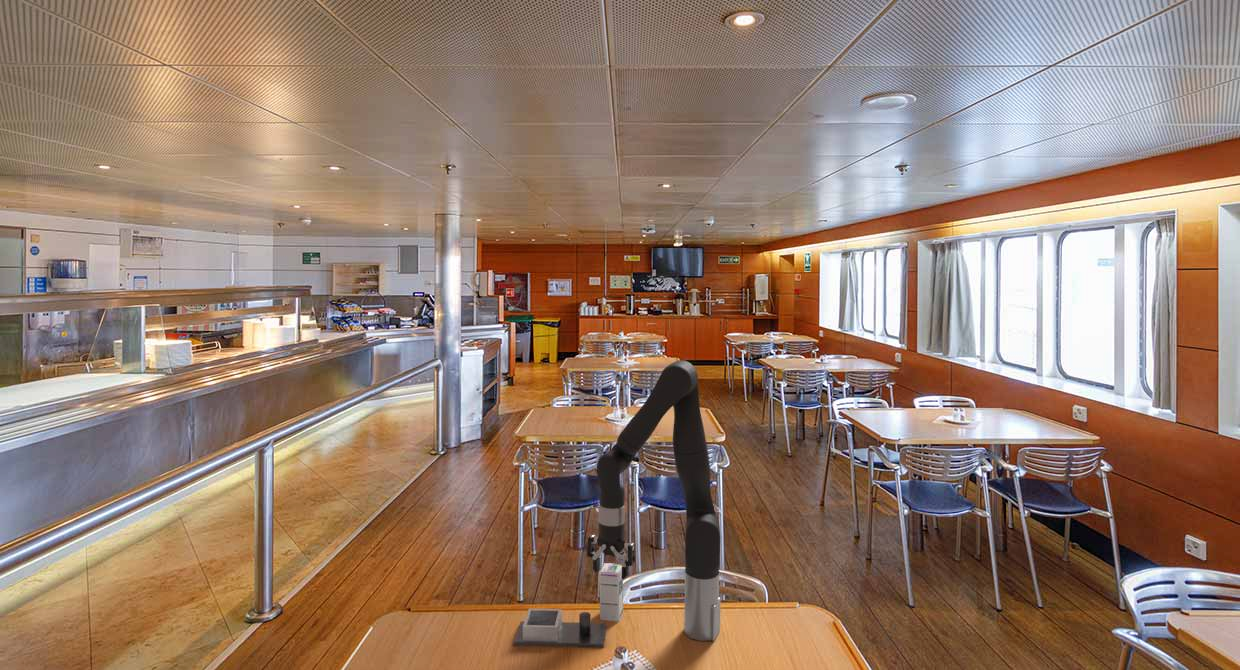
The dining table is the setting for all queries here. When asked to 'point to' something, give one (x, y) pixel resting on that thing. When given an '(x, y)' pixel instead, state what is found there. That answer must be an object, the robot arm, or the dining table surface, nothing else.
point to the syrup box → (611, 592)
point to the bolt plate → (559, 630)
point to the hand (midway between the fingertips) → (610, 574)
